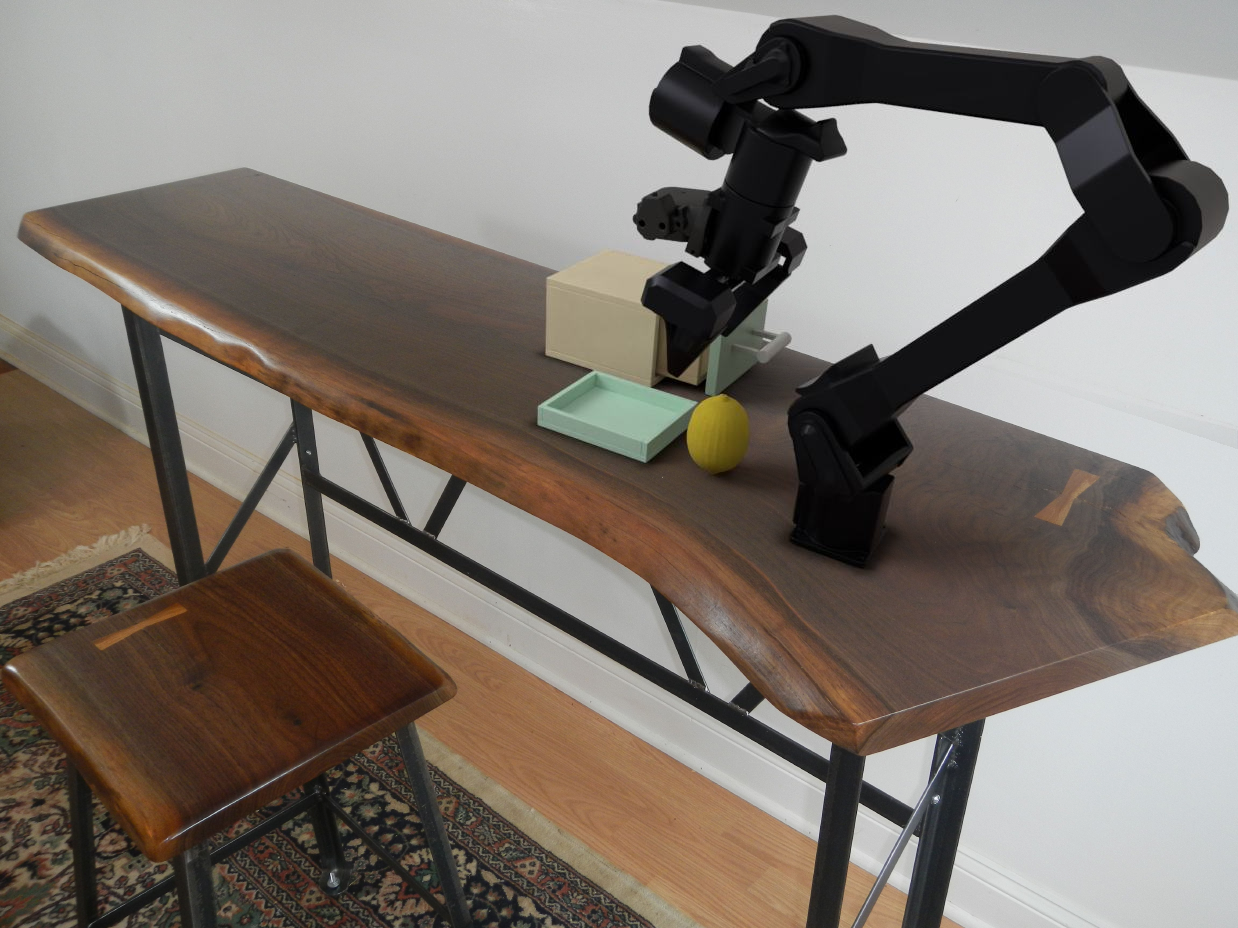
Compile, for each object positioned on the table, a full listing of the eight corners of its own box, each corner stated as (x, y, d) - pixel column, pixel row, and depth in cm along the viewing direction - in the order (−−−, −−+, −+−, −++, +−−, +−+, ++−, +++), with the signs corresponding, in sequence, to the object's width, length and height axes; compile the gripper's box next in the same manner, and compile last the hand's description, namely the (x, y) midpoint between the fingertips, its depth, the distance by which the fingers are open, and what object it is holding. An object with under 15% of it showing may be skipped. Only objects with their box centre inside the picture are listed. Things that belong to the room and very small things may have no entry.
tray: (696, 421, 95) (698, 402, 94) (646, 463, 88) (647, 443, 87) (593, 387, 101) (594, 369, 100) (537, 425, 93) (537, 406, 92)
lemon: (746, 491, 85) (758, 411, 81) (684, 487, 85) (692, 407, 80) (741, 459, 89) (751, 382, 85) (682, 456, 89) (689, 379, 85)
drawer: (794, 370, 105) (805, 307, 101) (752, 408, 96) (761, 342, 93) (662, 332, 112) (667, 273, 108) (611, 365, 103) (614, 302, 100)
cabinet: (704, 349, 111) (712, 274, 106) (650, 388, 101) (657, 307, 97) (604, 321, 116) (608, 248, 112) (545, 355, 107) (546, 277, 102)
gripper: (724, 120, 81) (672, 276, 91) (609, 172, 68) (562, 349, 78) (839, 176, 78) (772, 332, 88) (742, 243, 65) (677, 417, 75)
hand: (698, 353), depth 82 cm, fingers open, 9 cm apart
